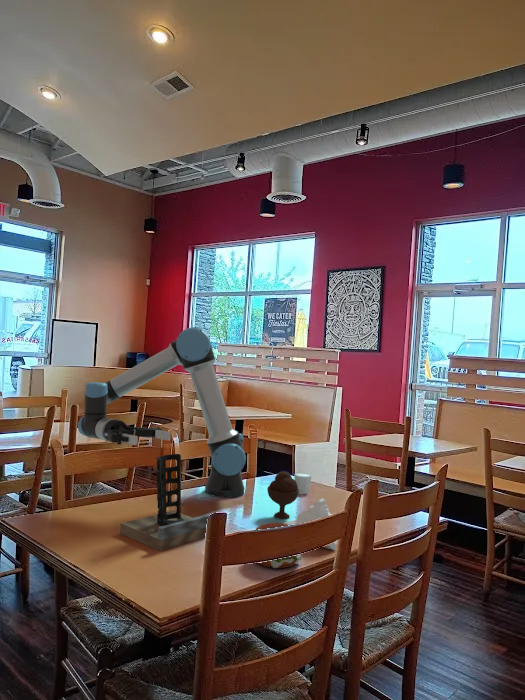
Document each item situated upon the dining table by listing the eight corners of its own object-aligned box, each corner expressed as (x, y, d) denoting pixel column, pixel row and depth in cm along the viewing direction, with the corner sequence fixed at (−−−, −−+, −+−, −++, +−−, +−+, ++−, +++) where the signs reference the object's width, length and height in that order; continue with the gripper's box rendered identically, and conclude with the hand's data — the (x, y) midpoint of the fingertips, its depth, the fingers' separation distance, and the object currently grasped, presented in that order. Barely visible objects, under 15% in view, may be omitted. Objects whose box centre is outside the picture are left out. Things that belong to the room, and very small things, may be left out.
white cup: (310, 495, 218) (312, 477, 218) (293, 493, 219) (294, 476, 219) (309, 490, 225) (310, 473, 225) (292, 489, 225) (294, 472, 225)
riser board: (172, 520, 176) (173, 501, 176) (212, 535, 164) (214, 514, 164) (119, 533, 160) (120, 512, 160) (160, 551, 149) (161, 528, 149)
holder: (175, 530, 156) (173, 459, 156) (150, 530, 157) (148, 459, 158) (188, 520, 166) (186, 453, 167) (164, 519, 168) (162, 453, 169)
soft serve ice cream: (300, 537, 172) (312, 492, 174) (343, 554, 163) (355, 507, 165) (279, 537, 162) (293, 488, 164) (324, 555, 153) (337, 504, 155)
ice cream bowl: (258, 515, 186) (261, 471, 186) (280, 510, 195) (283, 467, 195) (282, 524, 179) (285, 477, 179) (304, 517, 187) (307, 473, 187)
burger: (250, 550, 154) (253, 514, 154) (299, 554, 153) (302, 518, 153) (247, 569, 140) (250, 530, 140) (301, 574, 140) (304, 534, 140)
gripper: (140, 437, 199) (181, 445, 186) (79, 445, 179) (121, 455, 166) (141, 416, 199) (182, 423, 186) (80, 422, 179) (122, 430, 166)
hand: (153, 438), depth 176 cm, fingers open, 13 cm apart
